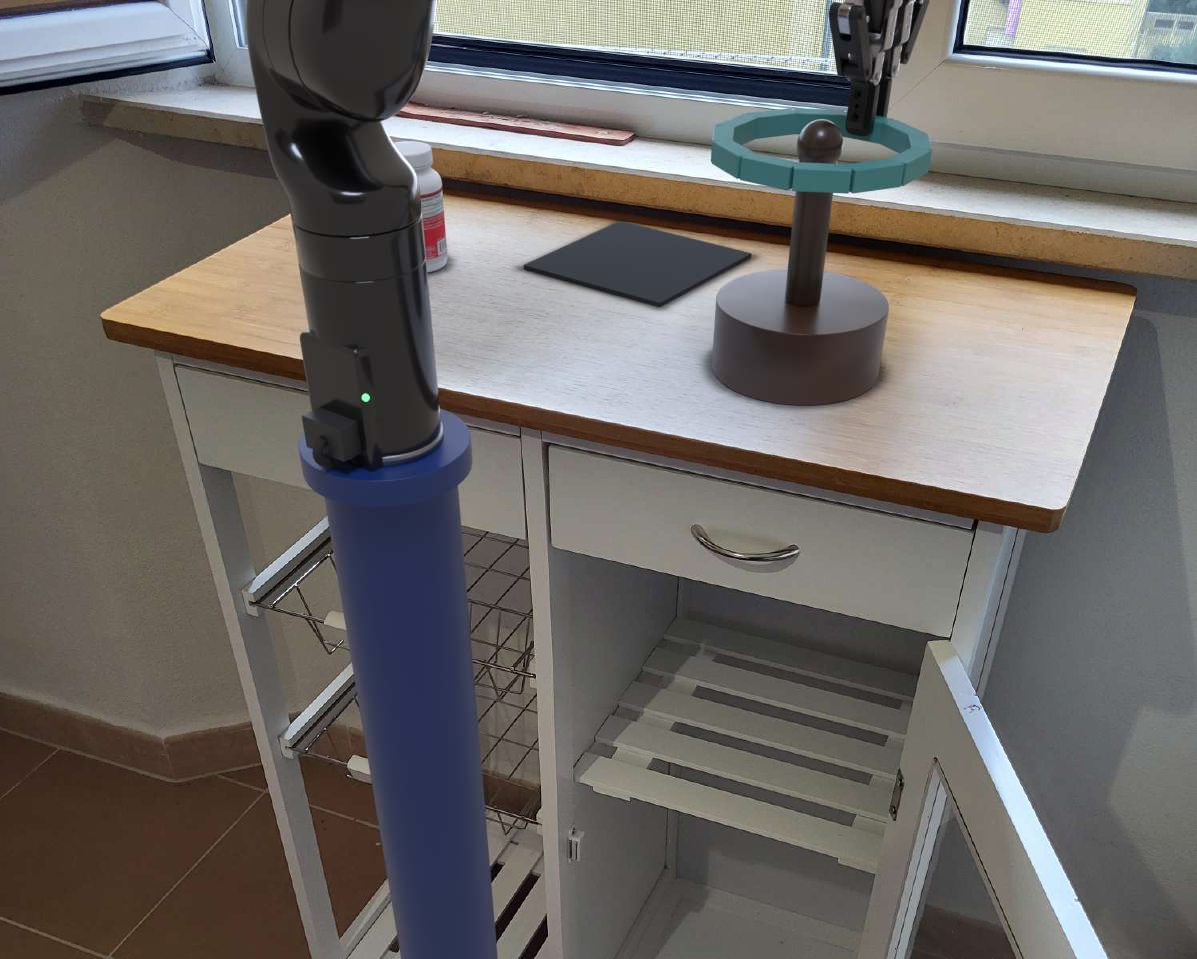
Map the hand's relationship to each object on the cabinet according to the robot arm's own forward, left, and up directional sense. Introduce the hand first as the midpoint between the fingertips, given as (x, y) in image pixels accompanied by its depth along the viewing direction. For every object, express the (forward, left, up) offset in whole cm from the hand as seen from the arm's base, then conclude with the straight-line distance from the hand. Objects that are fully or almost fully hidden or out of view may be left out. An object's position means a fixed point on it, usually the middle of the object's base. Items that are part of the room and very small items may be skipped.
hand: (864, 130), depth 101 cm
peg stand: (-8, 0, -18) cm, 19 cm away
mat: (+5, +26, -18) cm, 32 cm away
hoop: (-8, 0, -1) cm, 8 cm away
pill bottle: (-9, +44, -18) cm, 48 cm away
